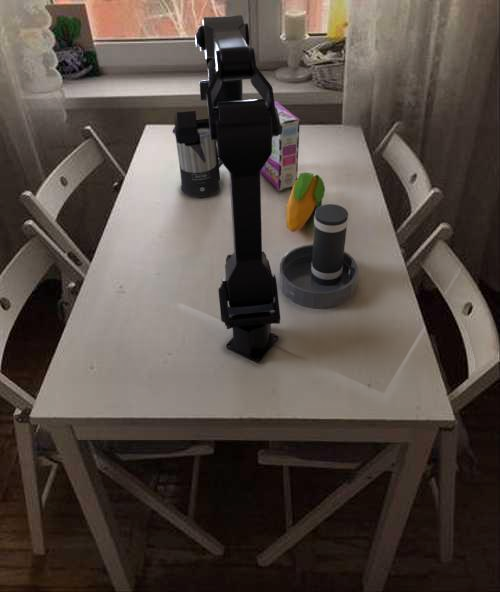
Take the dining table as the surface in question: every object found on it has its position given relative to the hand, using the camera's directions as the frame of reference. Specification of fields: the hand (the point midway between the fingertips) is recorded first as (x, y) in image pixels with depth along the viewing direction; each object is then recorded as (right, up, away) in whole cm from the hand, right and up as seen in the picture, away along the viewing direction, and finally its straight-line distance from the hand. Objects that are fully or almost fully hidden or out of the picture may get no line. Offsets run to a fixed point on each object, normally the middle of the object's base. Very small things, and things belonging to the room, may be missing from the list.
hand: (228, 159), depth 109 cm
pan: (+17, -24, -5) cm, 30 cm away
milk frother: (-7, +1, +25) cm, 26 cm away
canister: (+18, -23, -4) cm, 29 cm away
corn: (+16, -10, +12) cm, 22 cm away
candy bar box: (+11, +1, +24) cm, 27 cm away
